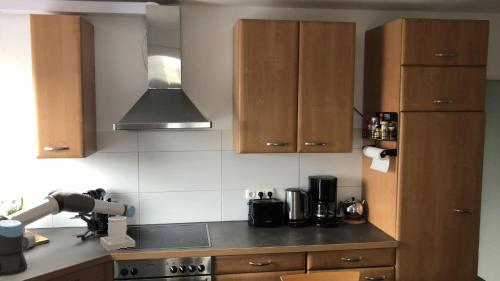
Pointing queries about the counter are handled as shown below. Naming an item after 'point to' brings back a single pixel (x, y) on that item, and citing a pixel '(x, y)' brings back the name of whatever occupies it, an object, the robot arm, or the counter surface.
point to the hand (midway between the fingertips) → (72, 226)
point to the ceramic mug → (28, 241)
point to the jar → (117, 229)
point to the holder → (106, 243)
